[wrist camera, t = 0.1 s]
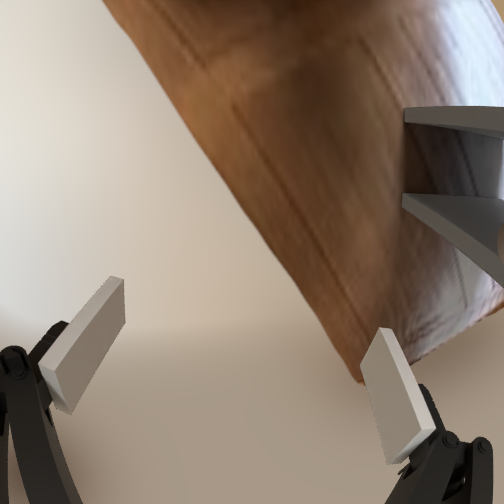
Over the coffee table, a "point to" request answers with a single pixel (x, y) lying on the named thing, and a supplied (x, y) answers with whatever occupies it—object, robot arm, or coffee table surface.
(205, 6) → the coffee table surface
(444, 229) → the shelf
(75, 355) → the robot arm
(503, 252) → the maple block
